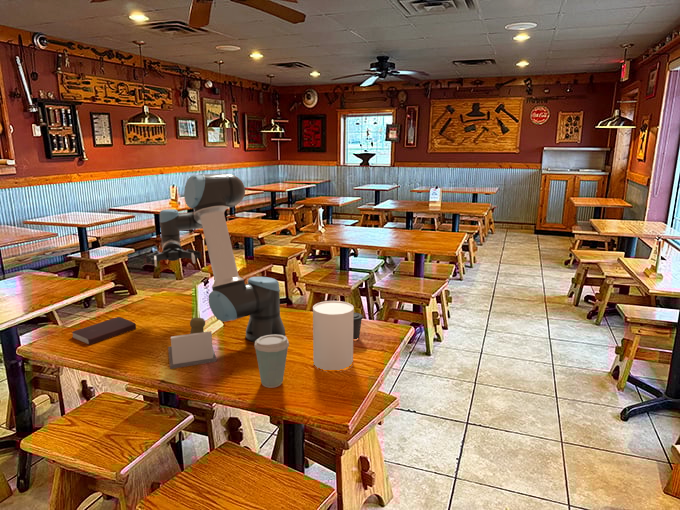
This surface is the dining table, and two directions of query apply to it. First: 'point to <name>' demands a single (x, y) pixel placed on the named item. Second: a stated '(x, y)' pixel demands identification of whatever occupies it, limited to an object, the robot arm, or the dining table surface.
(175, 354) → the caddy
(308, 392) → the dining table surface
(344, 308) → the canister
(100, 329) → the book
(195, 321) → the cork
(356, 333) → the coffee cup
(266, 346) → the disposable coffee cup
